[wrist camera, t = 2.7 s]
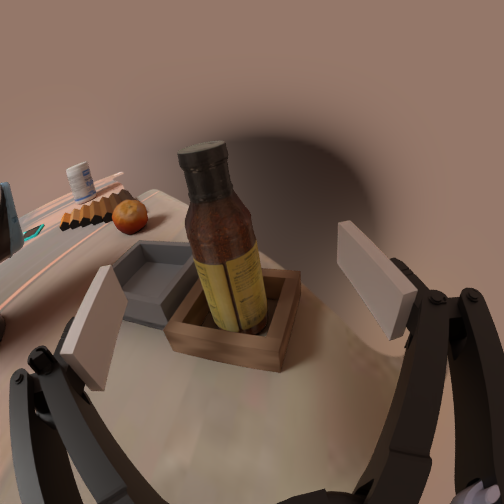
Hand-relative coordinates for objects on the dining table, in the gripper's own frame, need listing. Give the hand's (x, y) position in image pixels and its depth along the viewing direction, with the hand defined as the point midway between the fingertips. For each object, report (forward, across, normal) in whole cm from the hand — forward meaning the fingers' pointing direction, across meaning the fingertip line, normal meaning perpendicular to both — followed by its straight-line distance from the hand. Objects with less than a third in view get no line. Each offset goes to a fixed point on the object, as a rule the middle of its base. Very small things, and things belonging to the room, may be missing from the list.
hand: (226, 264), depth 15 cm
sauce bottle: (+10, 0, -15) cm, 18 cm away
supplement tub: (+85, -54, -14) cm, 101 cm away
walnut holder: (+10, 0, -15) cm, 18 cm away
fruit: (+43, -21, -14) cm, 50 cm away
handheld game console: (+61, -72, -14) cm, 96 cm away
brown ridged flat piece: (+58, -38, -15) cm, 71 cm away
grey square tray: (+19, -12, -14) cm, 26 cm away
